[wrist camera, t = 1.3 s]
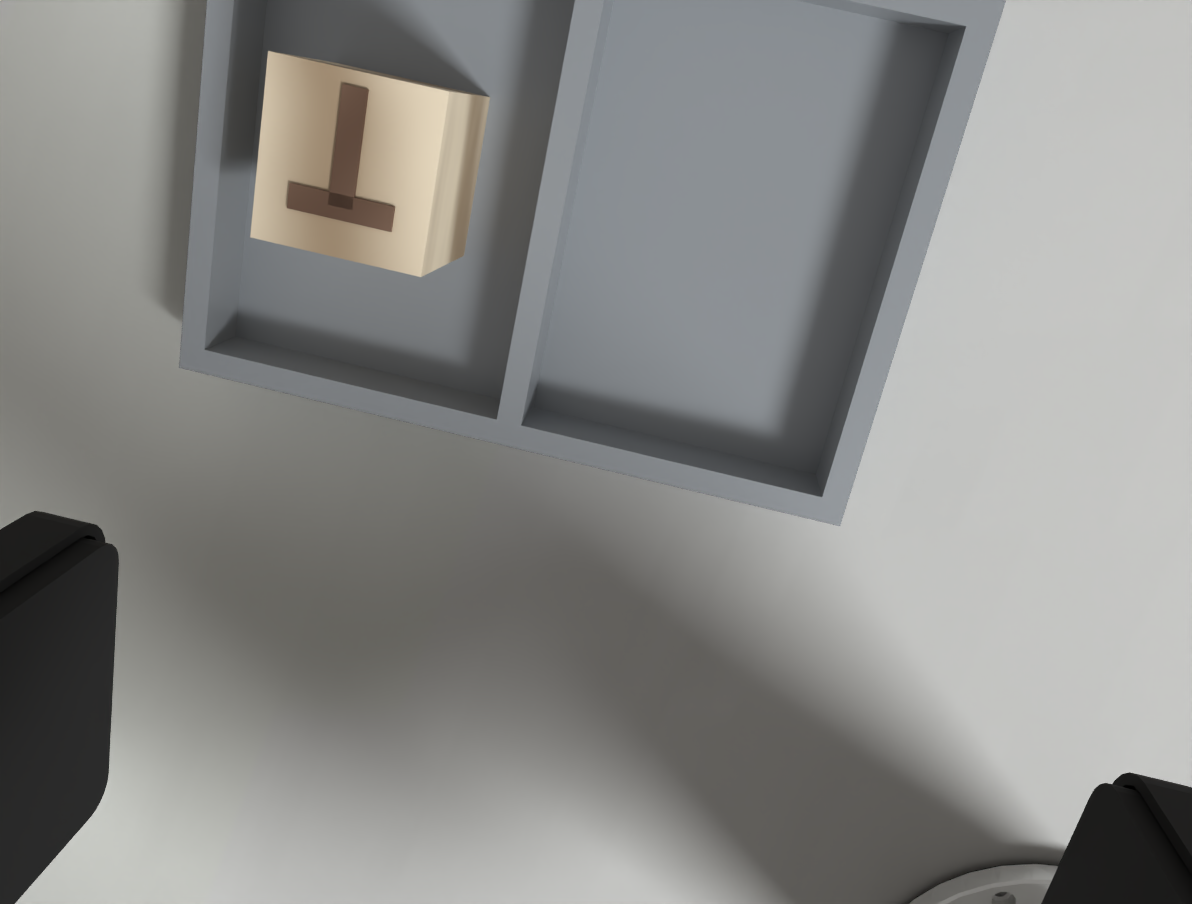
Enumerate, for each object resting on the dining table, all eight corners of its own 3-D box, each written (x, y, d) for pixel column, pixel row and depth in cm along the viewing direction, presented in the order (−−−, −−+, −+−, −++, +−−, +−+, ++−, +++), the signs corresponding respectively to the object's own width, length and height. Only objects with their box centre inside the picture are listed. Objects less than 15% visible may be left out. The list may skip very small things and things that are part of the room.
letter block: (490, 97, 31) (448, 91, 26) (463, 255, 33) (419, 277, 28) (335, 62, 32) (266, 50, 27) (317, 221, 33) (248, 237, 28)
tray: (980, 12, 30) (1005, 1, 27) (830, 495, 35) (839, 526, 32) (263, -142, 31) (219, -169, 28) (219, 350, 36) (178, 367, 33)
